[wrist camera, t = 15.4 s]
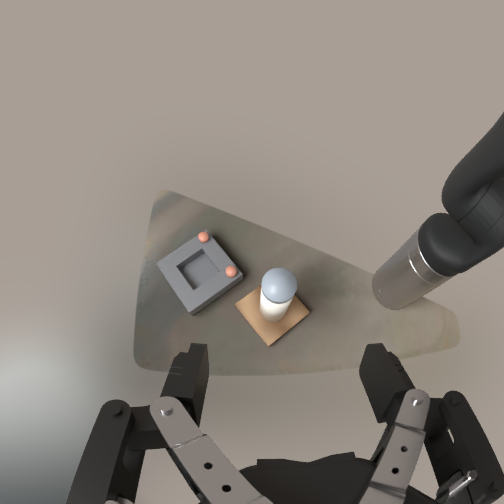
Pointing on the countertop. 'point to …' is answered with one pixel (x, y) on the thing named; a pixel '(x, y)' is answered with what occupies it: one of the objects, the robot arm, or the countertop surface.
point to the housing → (199, 272)
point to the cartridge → (276, 293)
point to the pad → (264, 328)
